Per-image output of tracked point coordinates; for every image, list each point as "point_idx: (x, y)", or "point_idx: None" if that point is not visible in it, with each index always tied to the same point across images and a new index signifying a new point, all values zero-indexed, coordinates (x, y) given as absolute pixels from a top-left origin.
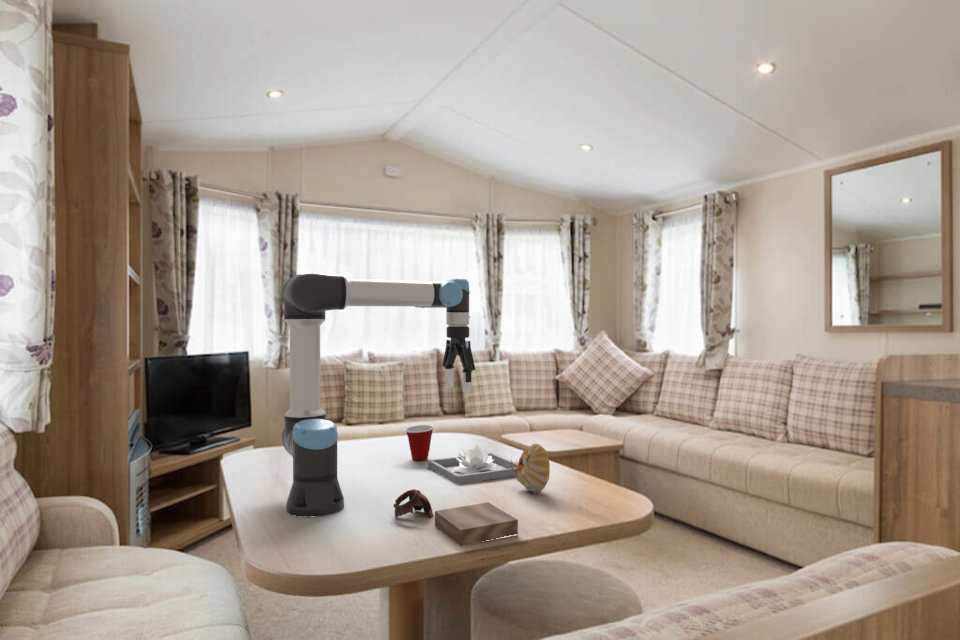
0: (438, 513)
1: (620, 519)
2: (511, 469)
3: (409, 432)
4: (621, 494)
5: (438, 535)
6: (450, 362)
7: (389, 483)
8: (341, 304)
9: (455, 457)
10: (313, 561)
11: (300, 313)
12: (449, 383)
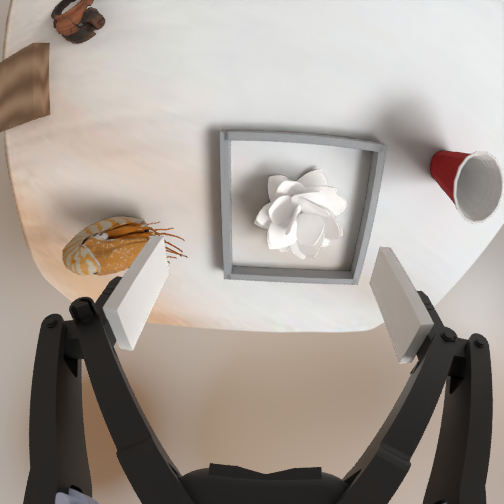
0: (26, 47)
1: (33, 251)
2: (223, 251)
3: (474, 152)
4: None
5: None
6: (409, 384)
7: (303, 18)
8: None
9: (334, 188)
10: None
11: None
12: (382, 277)
